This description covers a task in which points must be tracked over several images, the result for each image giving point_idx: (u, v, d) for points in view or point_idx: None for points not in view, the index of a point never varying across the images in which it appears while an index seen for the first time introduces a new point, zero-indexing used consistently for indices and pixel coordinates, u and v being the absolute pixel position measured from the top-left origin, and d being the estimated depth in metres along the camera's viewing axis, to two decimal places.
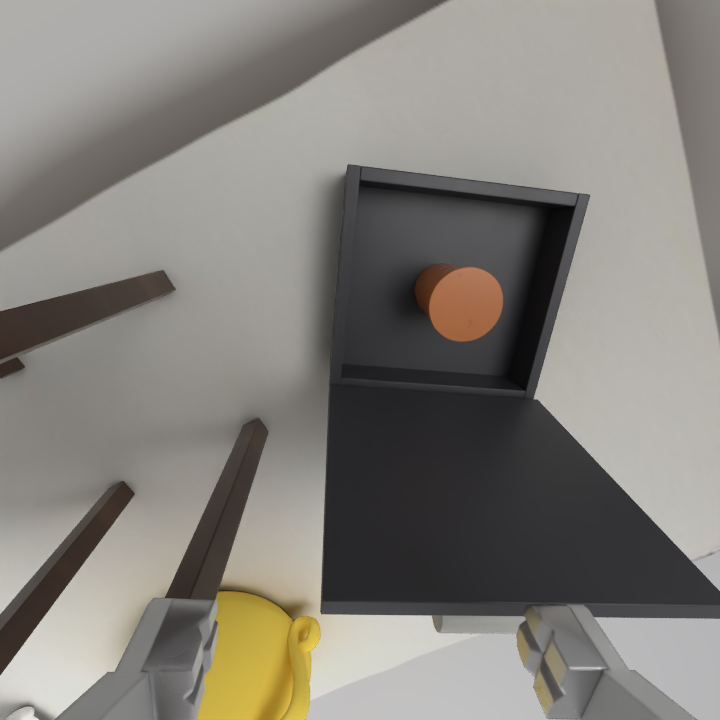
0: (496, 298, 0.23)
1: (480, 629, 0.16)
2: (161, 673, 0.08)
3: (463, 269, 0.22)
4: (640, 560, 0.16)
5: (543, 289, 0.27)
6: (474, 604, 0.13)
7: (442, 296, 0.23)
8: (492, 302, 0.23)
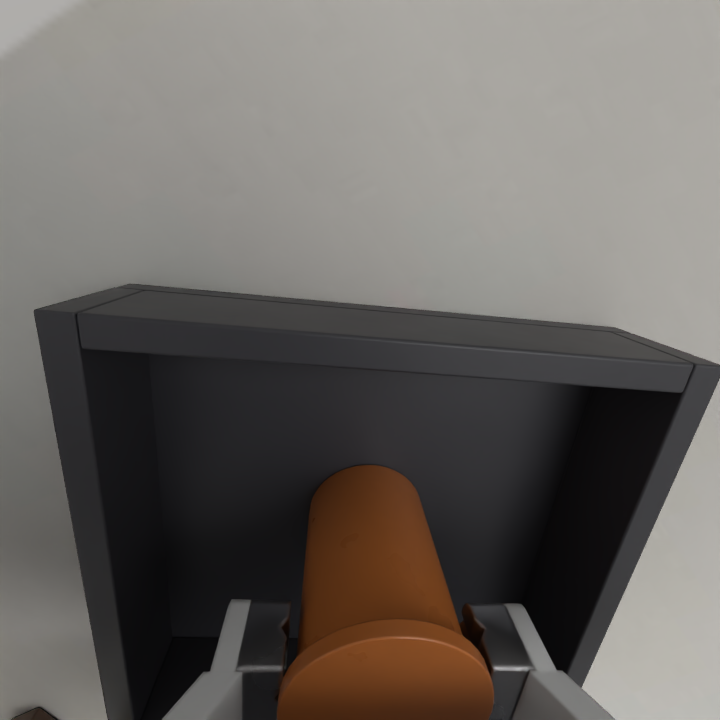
0: (476, 694, 0.08)
1: None
2: (253, 672, 0.08)
3: (370, 644, 0.07)
4: None
5: (587, 534, 0.12)
6: None
7: (314, 701, 0.08)
8: (463, 703, 0.08)
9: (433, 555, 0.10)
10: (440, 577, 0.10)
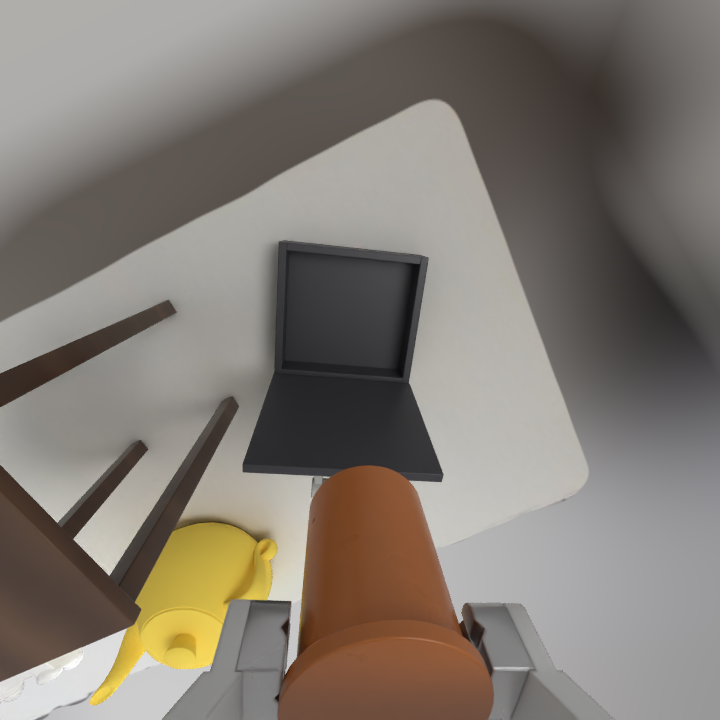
0: (476, 694, 0.08)
1: None
2: (253, 673, 0.08)
3: (370, 644, 0.07)
4: (410, 457, 0.31)
5: (410, 313, 0.43)
6: (314, 469, 0.29)
7: (314, 702, 0.08)
8: (463, 703, 0.08)
9: (433, 555, 0.10)
10: (440, 577, 0.10)
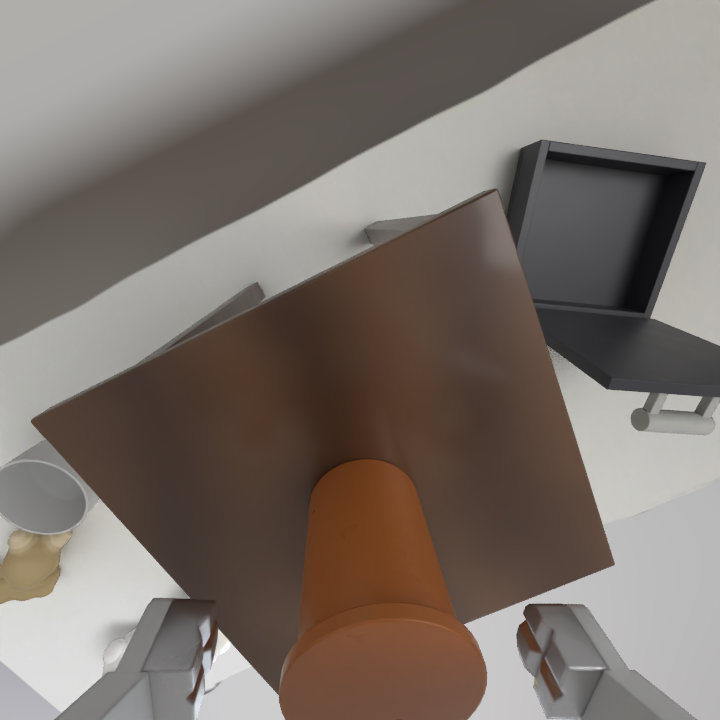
0: (469, 674, 0.08)
1: (671, 426, 0.26)
2: (161, 673, 0.08)
3: (368, 625, 0.08)
4: None
5: (662, 235, 0.37)
6: (693, 386, 0.23)
7: (314, 682, 0.08)
8: (457, 683, 0.08)
9: (429, 545, 0.11)
10: (436, 566, 0.10)
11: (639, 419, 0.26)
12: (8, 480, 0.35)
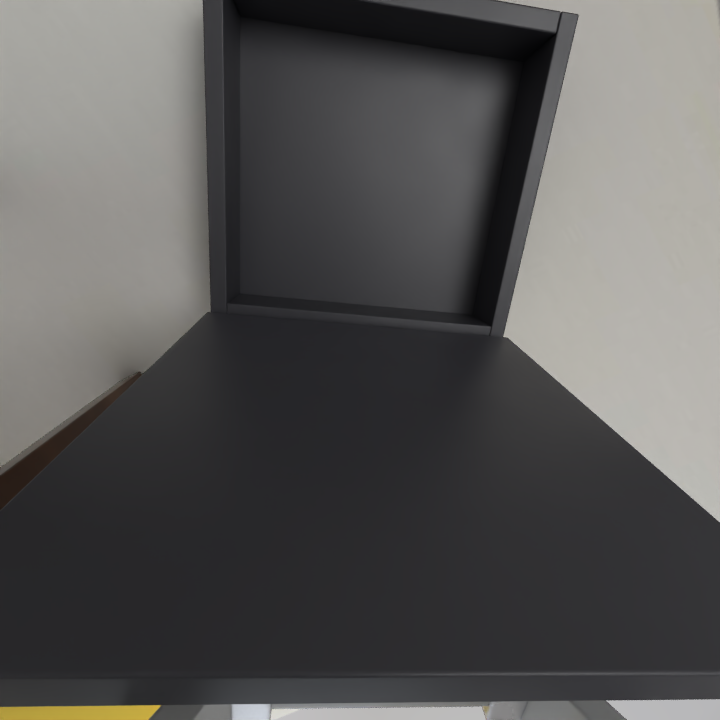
0: None
1: None
2: None
3: None
4: (669, 565, 0.08)
5: (514, 177, 0.19)
6: (264, 679, 0.05)
7: None
8: None
9: None
10: None
11: None
12: None
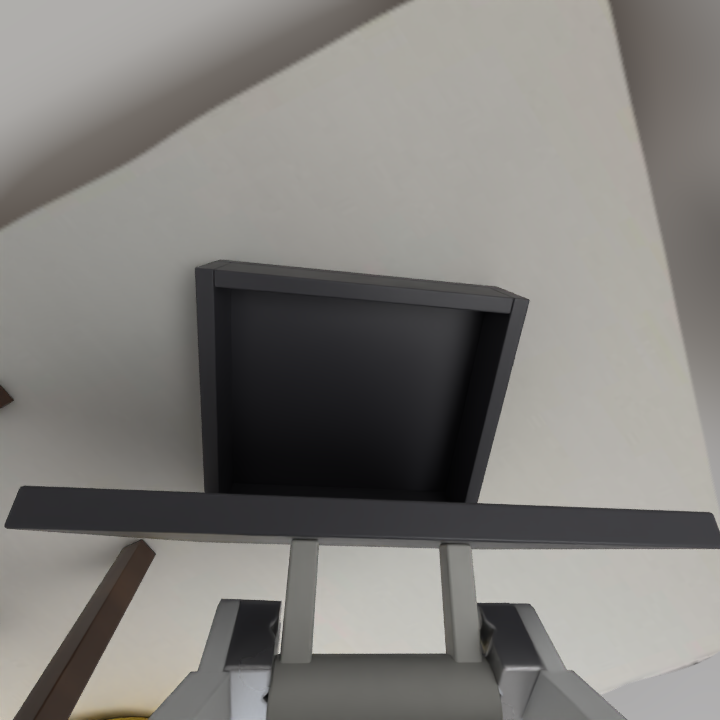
0: None
1: (352, 707, 0.08)
2: (241, 673, 0.08)
3: None
4: None
5: (478, 404, 0.21)
6: (289, 503, 0.08)
7: None
8: None
9: None
10: None
11: None
12: None
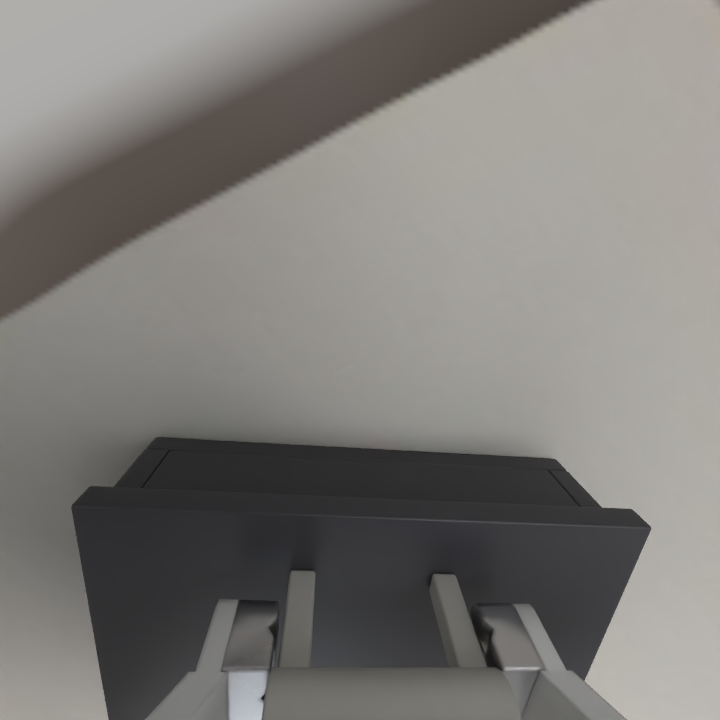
0: None
1: (355, 688, 0.07)
2: (239, 673, 0.08)
3: None
4: None
5: None
6: (294, 498, 0.10)
7: None
8: None
9: None
10: None
11: None
12: None
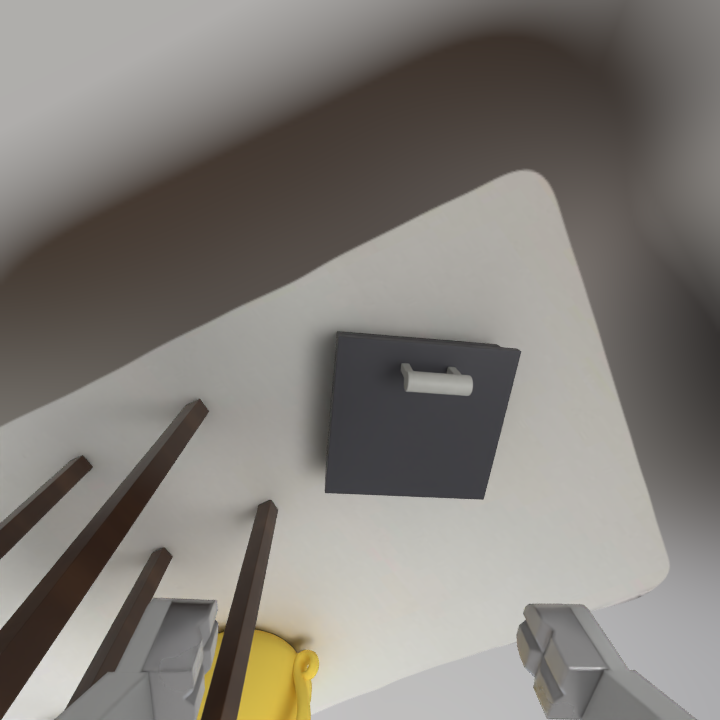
0: None
1: (429, 372, 0.29)
2: (161, 673, 0.08)
3: None
4: None
5: None
6: (402, 339, 0.32)
7: None
8: None
9: None
10: None
11: (405, 381, 0.29)
12: None
